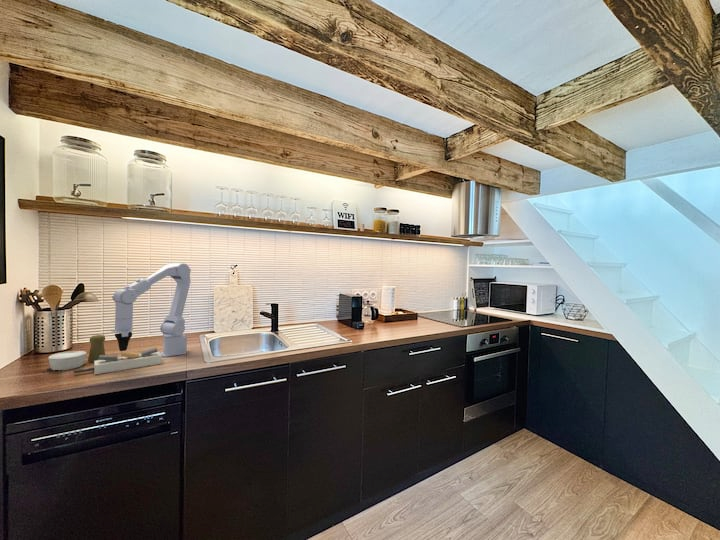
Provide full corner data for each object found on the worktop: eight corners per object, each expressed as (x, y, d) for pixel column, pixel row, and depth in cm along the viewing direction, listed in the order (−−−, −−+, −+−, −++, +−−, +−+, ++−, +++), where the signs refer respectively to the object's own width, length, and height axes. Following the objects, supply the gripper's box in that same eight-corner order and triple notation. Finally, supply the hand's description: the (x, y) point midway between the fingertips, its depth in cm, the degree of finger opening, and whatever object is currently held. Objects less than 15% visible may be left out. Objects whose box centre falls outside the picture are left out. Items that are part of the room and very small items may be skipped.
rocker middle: (137, 355, 127) (138, 352, 127) (138, 357, 125) (139, 354, 125) (121, 355, 123) (122, 352, 123) (121, 356, 121) (122, 353, 121)
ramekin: (83, 360, 129) (84, 348, 128) (88, 367, 121) (88, 354, 121) (46, 366, 120) (47, 354, 120) (49, 374, 113) (49, 360, 113)
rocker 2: (156, 350, 132) (156, 347, 131) (157, 351, 129) (157, 349, 129) (141, 354, 128) (140, 352, 128) (142, 356, 126) (141, 354, 125)
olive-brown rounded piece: (104, 357, 134) (105, 333, 134) (107, 360, 130) (108, 335, 130) (86, 360, 129) (87, 335, 129) (88, 363, 125) (89, 337, 125)
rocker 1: (116, 358, 122) (117, 355, 122) (116, 360, 120) (117, 357, 120) (98, 358, 118) (99, 355, 119) (99, 360, 116) (100, 356, 116)
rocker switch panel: (159, 359, 134) (159, 350, 134) (161, 363, 129) (162, 353, 129) (74, 372, 115) (74, 361, 115) (73, 377, 110) (73, 366, 110)
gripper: (110, 316, 125) (109, 348, 125) (112, 321, 114) (111, 356, 114) (131, 314, 130) (130, 345, 130) (135, 320, 119) (134, 353, 119)
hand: (123, 350), depth 122 cm, fingers closed
